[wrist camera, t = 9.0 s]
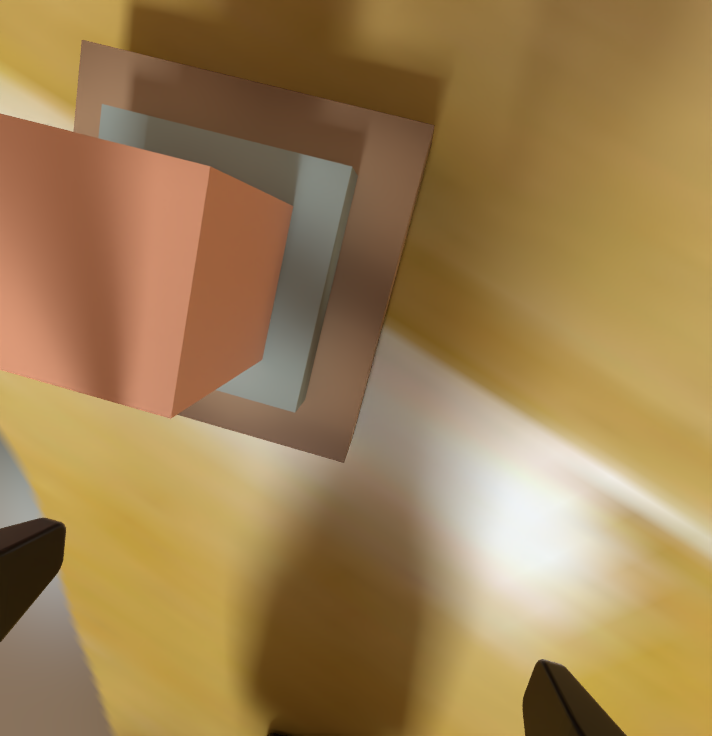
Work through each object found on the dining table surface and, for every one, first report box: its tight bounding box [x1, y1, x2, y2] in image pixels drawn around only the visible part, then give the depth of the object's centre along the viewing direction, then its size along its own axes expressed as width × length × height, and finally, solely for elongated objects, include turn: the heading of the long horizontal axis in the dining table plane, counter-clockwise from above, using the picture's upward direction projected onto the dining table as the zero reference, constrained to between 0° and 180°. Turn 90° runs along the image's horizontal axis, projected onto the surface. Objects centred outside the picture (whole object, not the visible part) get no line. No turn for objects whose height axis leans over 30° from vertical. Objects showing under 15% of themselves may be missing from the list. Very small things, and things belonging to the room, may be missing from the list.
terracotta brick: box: [0, 114, 293, 418], centre depth 12 cm, size 5×5×6 cm
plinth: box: [74, 40, 434, 463], centre depth 17 cm, size 12×12×4 cm
